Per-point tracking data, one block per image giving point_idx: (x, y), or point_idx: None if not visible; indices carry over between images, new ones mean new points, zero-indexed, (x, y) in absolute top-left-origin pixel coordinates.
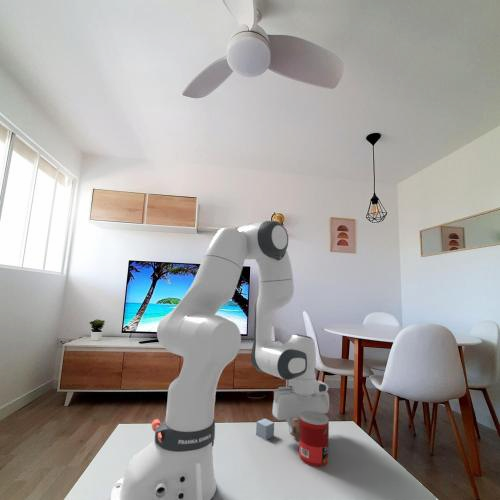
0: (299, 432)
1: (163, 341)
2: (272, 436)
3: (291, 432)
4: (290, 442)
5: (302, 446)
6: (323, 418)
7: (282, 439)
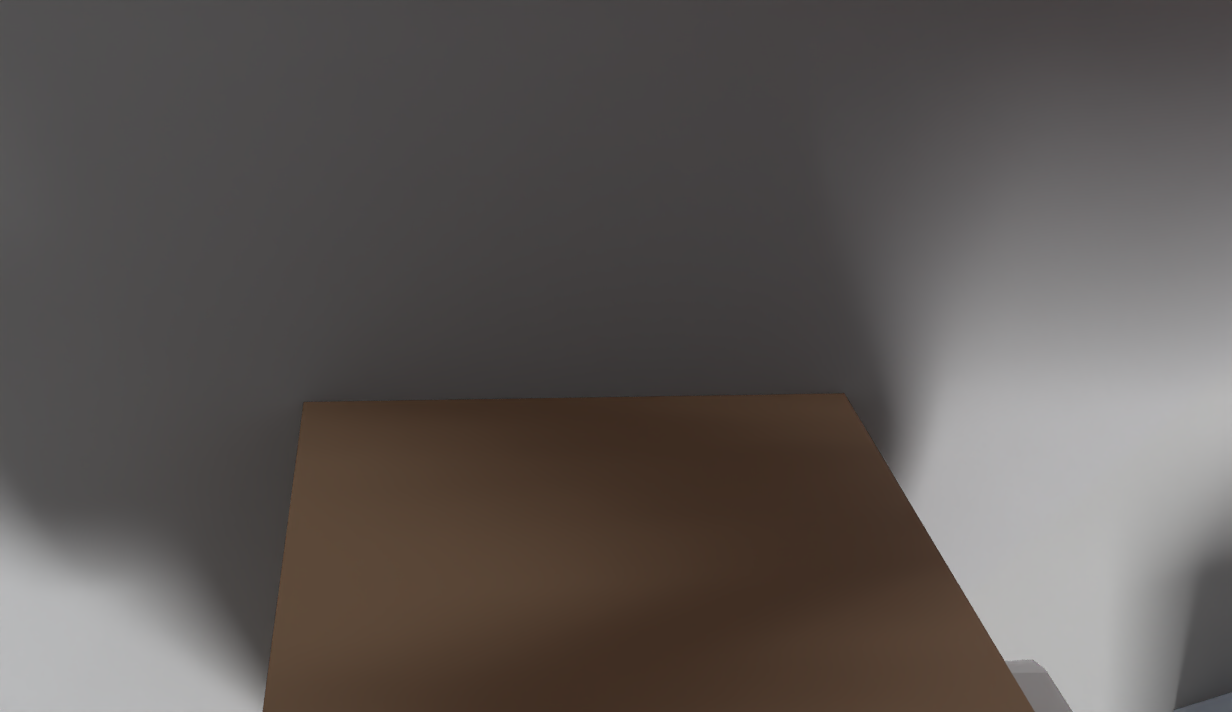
0: (936, 577)
1: None
2: (1222, 698)
3: (1028, 669)
4: (1112, 400)
5: None
6: None
7: (1148, 563)
